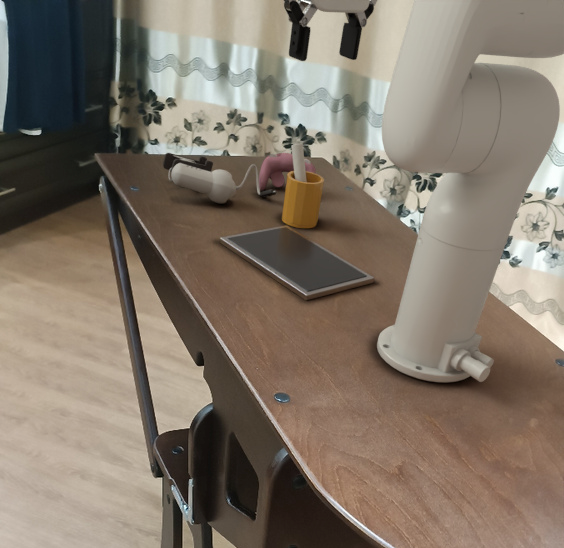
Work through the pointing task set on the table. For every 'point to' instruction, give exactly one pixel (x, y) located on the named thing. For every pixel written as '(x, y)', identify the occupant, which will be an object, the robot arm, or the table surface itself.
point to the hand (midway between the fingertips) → (323, 58)
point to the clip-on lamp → (206, 177)
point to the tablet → (296, 261)
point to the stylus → (299, 162)
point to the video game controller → (279, 169)
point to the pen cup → (302, 200)
